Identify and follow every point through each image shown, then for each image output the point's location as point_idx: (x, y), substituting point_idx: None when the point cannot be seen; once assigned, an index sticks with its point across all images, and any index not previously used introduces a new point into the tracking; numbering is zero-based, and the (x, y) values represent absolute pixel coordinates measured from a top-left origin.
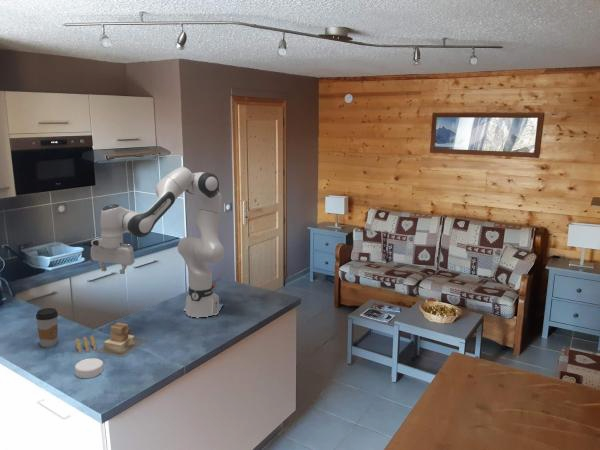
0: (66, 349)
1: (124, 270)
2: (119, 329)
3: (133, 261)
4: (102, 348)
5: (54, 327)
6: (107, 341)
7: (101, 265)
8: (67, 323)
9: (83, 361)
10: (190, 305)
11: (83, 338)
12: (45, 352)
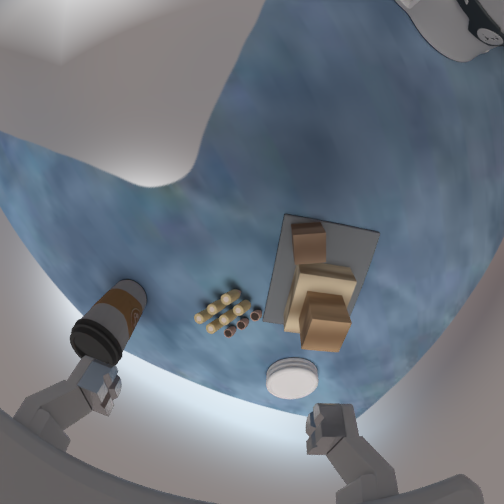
0: (185, 311)
1: (353, 432)
2: (333, 349)
3: (465, 501)
4: (272, 303)
5: (131, 330)
6: (292, 325)
7: (74, 420)
8: (85, 174)
9: (275, 381)
10: (450, 30)
11: (213, 314)
12: (155, 326)
